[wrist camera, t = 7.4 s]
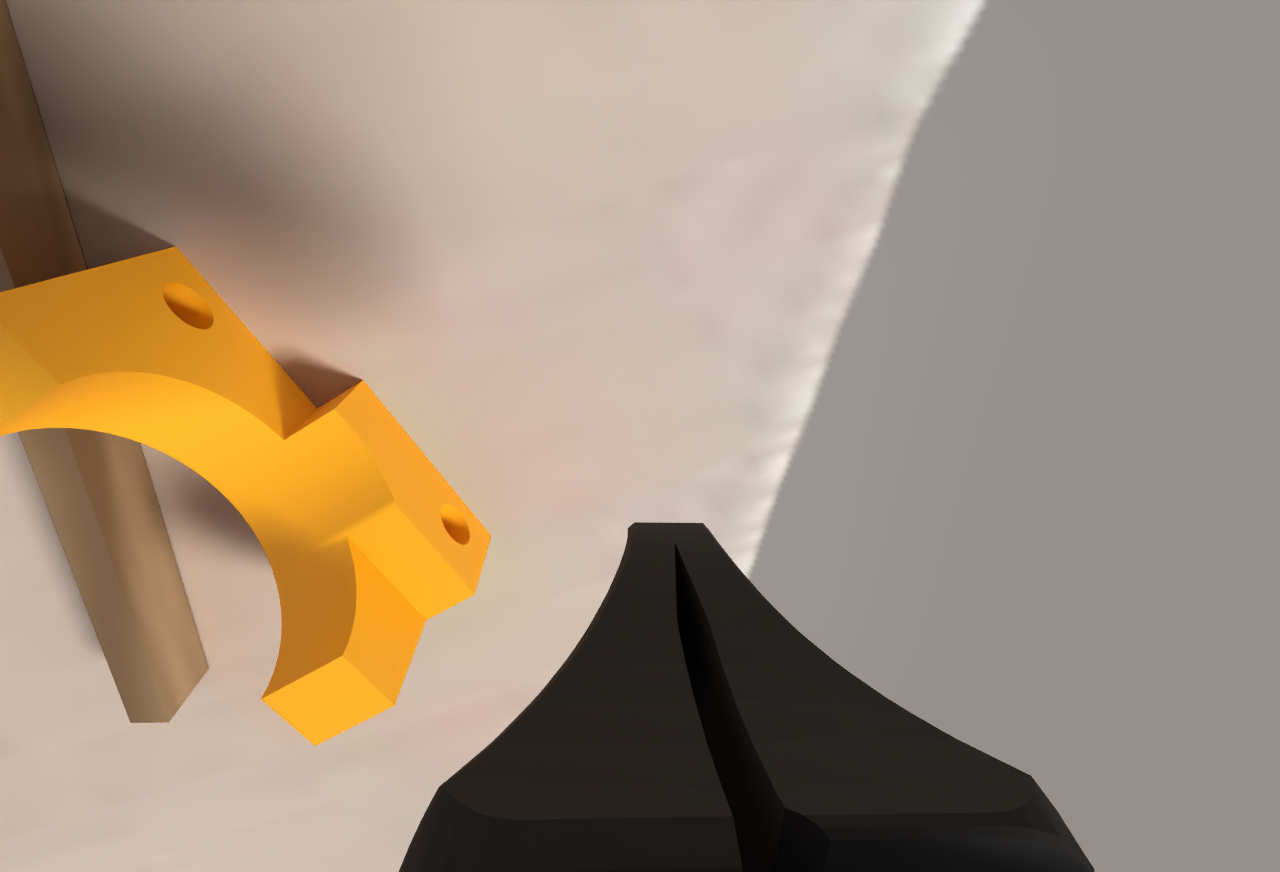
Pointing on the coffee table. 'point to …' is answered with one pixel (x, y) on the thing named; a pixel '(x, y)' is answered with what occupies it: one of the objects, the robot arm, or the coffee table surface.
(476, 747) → the coffee table surface
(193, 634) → the rail
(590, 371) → the coffee table surface
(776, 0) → the coffee table surface
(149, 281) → the pipe clamp
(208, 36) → the coffee table surface
